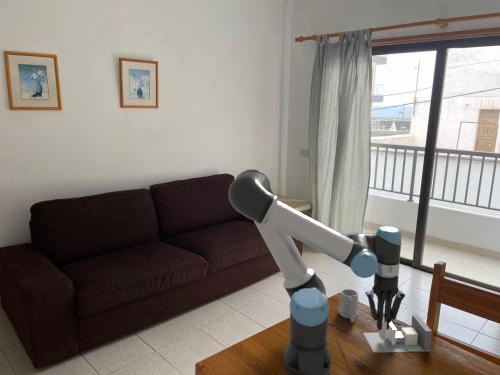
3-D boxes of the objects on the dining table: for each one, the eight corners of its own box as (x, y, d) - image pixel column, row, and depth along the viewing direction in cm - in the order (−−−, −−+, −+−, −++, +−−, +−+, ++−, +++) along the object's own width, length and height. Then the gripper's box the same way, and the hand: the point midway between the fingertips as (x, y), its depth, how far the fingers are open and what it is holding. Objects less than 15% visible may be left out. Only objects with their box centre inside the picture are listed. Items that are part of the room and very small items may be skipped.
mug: (355, 310, 154) (357, 283, 151) (363, 327, 142) (365, 298, 140) (336, 310, 154) (337, 282, 151) (342, 327, 142) (344, 297, 140)
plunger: (391, 345, 129) (393, 329, 127) (384, 335, 134) (386, 319, 133) (406, 345, 129) (408, 329, 127) (399, 334, 135) (400, 319, 133)
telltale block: (405, 344, 130) (406, 334, 129) (400, 337, 134) (401, 327, 133) (417, 344, 130) (418, 334, 129) (411, 337, 134) (412, 327, 133)
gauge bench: (373, 355, 126) (375, 333, 125) (362, 335, 137) (364, 315, 135) (430, 354, 127) (432, 332, 125) (415, 334, 138) (417, 313, 136)
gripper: (370, 278, 122) (366, 344, 127) (411, 277, 123) (405, 343, 128) (363, 268, 130) (359, 331, 135) (401, 268, 130) (396, 330, 135)
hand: (382, 337), depth 131 cm, fingers closed
